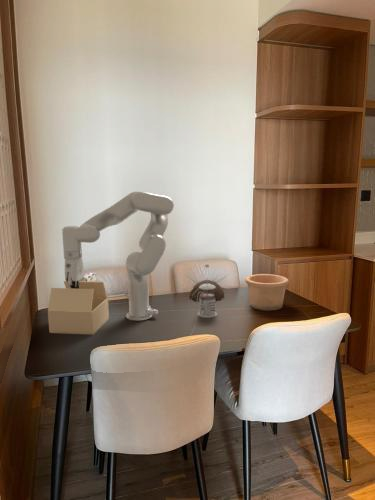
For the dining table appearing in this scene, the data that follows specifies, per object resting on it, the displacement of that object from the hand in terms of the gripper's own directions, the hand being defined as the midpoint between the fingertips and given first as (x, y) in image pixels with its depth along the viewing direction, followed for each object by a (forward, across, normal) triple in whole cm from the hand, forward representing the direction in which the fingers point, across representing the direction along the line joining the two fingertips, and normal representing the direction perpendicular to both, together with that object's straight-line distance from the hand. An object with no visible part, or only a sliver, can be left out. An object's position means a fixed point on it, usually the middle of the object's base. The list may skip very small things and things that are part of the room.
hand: (75, 295), depth 168 cm
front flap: (+1, -5, 0) cm, 5 cm away
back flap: (+1, +11, 0) cm, 11 cm away
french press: (+15, +24, -56) cm, 63 cm away
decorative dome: (+15, +54, -54) cm, 78 cm away
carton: (+15, +3, 0) cm, 16 cm away
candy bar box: (+15, +33, +8) cm, 37 cm away
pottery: (+15, +41, -86) cm, 96 cm away
